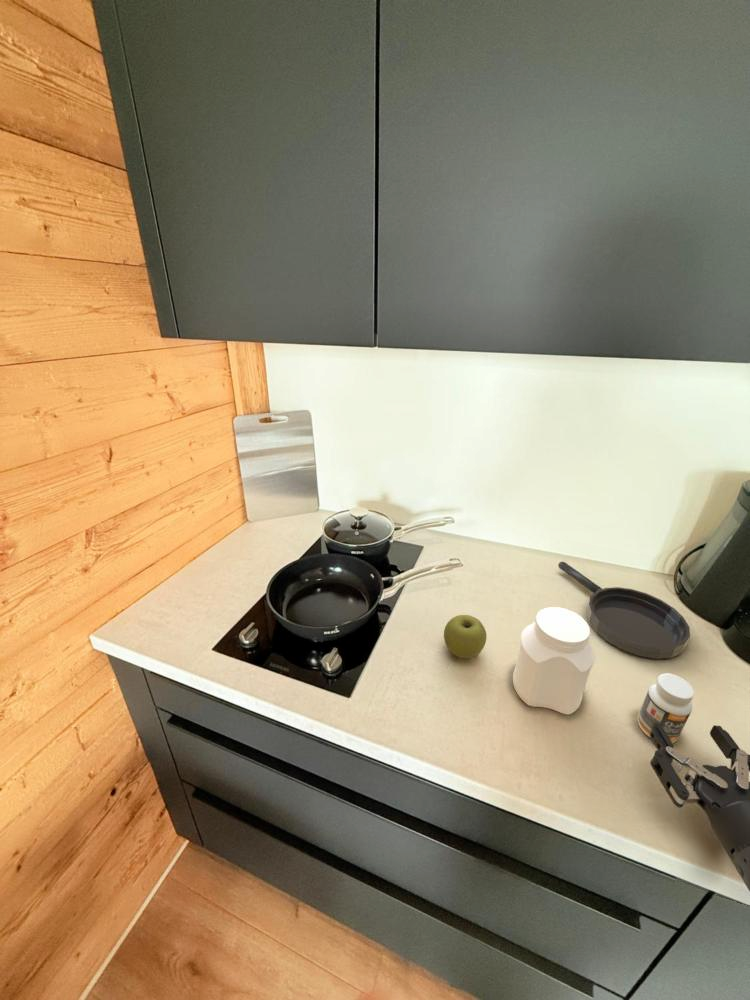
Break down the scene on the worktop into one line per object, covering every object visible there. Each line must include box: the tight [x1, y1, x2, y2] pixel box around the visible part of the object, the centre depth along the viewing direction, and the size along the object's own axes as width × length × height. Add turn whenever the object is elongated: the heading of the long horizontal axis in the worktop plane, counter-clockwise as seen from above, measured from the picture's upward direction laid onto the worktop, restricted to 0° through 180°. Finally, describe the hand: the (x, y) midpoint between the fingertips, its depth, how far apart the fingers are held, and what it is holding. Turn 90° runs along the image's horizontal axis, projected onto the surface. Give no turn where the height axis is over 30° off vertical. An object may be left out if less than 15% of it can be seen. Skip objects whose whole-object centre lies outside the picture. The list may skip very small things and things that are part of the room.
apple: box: [443, 614, 487, 659], centre depth 82 cm, size 8×8×7 cm
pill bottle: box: [637, 672, 695, 744], centre depth 66 cm, size 6×6×10 cm
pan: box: [585, 586, 691, 660], centre depth 88 cm, size 18×18×3 cm
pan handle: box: [557, 561, 603, 594], centre depth 101 cm, size 2×13×2 cm, turn 22°
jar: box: [512, 606, 596, 716], centre depth 72 cm, size 12×10×15 cm
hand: (684, 727), depth 62 cm, fingers open, 8 cm apart
